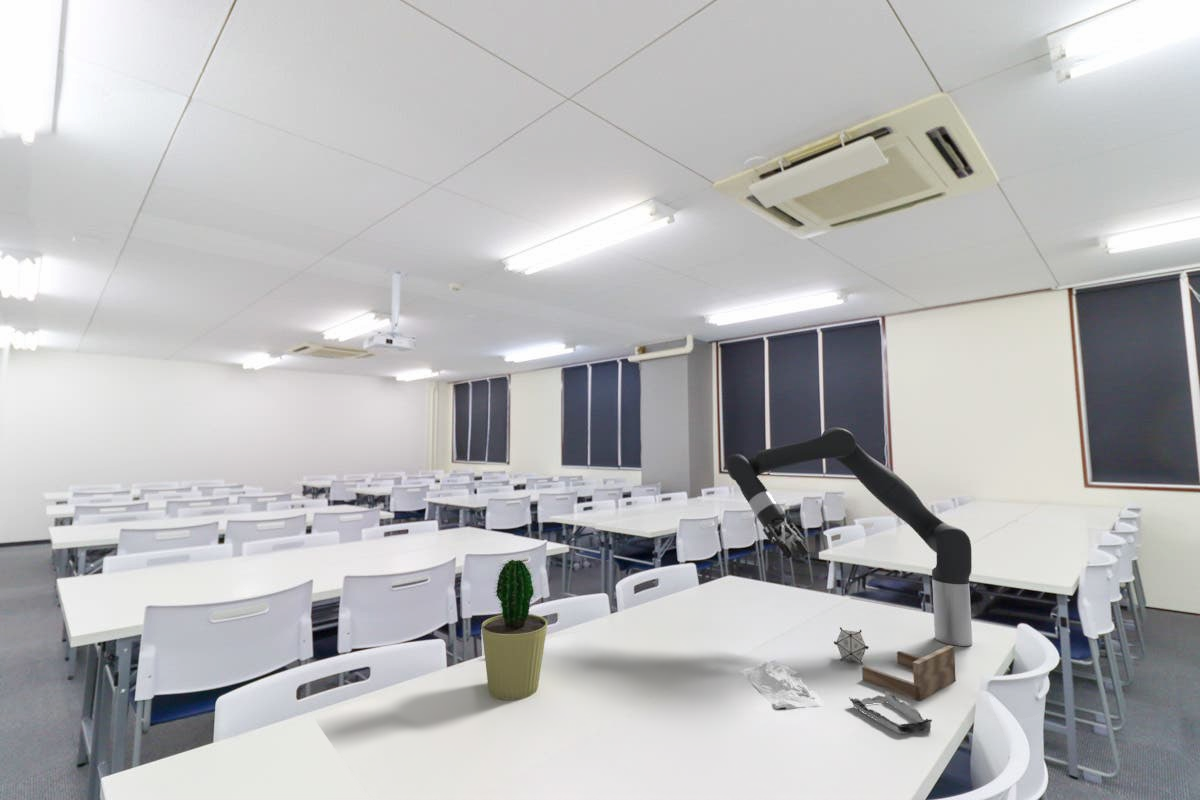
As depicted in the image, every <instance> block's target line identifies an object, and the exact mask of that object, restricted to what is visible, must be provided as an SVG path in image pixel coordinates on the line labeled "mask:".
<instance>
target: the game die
mask: <svg viewBox="0 0 1200 800" xmlns="http://www.w3.org/2000/svg"><path fill="white" fill-rule="evenodd" d="M839 630H840V633H839V635H838V637H837V640H836V641H833V644H834V645H836V646H837V648H838V651H839V655H840V657H841V658H840V662H843V660H850V661H856V662H860V664H861V665H862V666H863V664H864V662H863V661H862V660H863V657H864V654H865V651H866V650H869V648H870V647H869V646H868V645H866V643H865V640H864V639H863V636H862V629H860V630H859V631H855V630H854V631H853V630H847V629H843V628H842V627H841V626H839Z"/></svg>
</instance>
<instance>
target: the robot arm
mask: <svg viewBox="0 0 1200 800" xmlns="http://www.w3.org/2000/svg"><path fill="white" fill-rule="evenodd" d="M823 459H835V460H837V461H838V462H839V463H840V464H841V465H843V466H844V467H845V468H847V469H848V470H849V471H850V472H851V473H852V474H853V475H854V477H855V478H856V479H858V480H859V482H861V484H862V485H863V487H865V488H866V489H867V491H868V492H870V494H872V496H874V497H875V498H876V499H877V500H878V502H880V503H881V504H883V506H885V507H886V508H887V509H888V510H890V511H891V512H892V513H893V514H894V515H895V516H897V517H898V518H899V519H901V520H902V521H904V522H905V523H906V524H907V525H908V526H910V527H911V529H913V530H914V532H915V533H916V534H917V535H918V536H919V537H920V538H921V540H923V542H925V544H926V545H927V546H928V547H929V548H930V549H931V550H932V551H933V552H934V553H935V554H936V564H935V567H934V568H932V571H931V578H932V579H931V580H932V581H931V582H932V601H933V603H932V604H933V623H934V638H935V640H937V641H938V642H941V643H943V644H948V645H950V646H961V647H966V646H967V647H968V646H972V645H973V633H972V632H973V630H972V629H973V628H972V613H971V593H970V591H971V590H970V576H971V574H972V570H973V569H972V566H973V565H972V558H973V557H972V543H971V540H970V537H969V535H968V534H967V533H966V532H965V530H962V529H961V528H959V527H955V526H953V525H949V524H947V523H946V522H944V521H943V520H941V519H940V518H938V517H937V516H936V515H935V514H934V513H932V512H931V511H930V510H929V509H928V508H927V507H926V506H925V505H924V504H923V502H922V501H921V499H920V498H919V496H918V495H917V494H916V492H915V491H914V490H913V489H912V487H911V486H910V485H909V484H908V483H906V481H904V480H903V479H902V478H901V477H900V476H898V475H897V474H896V473H895V472H894V471H892V470H891V469H889V468H888V467H887V466H886V465H884V464H883V463H881V462H879V461H878V460H876V459H875V458H873V457H872V456H870V454H868V453H866V451H865V450H863V448H861V447H860V445H858V444H857V441H856V438H855V436H854V435H853V433H852V432H851V431H849V430H847V429H846V428H843V427H842V428H841V427H838V426H837V427H830V428H827V429H826V430H824V432H822V434H821V435H820V436H818V437H815V438H813V439H809V440H806V441H802V442H796V443H790V444H789V443H788V444H783V445H779V446H774V447H770V448H766V449H763V450H759V451H757V452H756V453H755V454H754V456H752V457H750V458H748V459H747V458H746V457H745V456H744V455H742V454H739V453H734V454H731V455H729V456H728V457H727V459H726V462H725V467H726V470H727V473H728V475H729V477H730V478H731V479H732V480H733V481H735V482H736V484H737V485H738V486H739V487H738V488H740V491H741V493H742V495H743V497H744V498H745V500H746V501H747V503H748V504H749V506H750V508H751V510H752V511H753V513H754V515H755V516H756V519H758V521H759V522H760V524H761V525H762V527H763V528H762V531H763V533H764V535H765V536H766V538H767V539H768V540H769V543H770V544H771V546H773V547H776V548H778V549H780V551H781V552H782V553H783V555H784V557H785V558H786V559H787V560H789V559H791V558H792V557H794V553H793V551H792V550H791V548H790V547H789V546H788V544H787V543H786V541H787V542H788V543H789V542H790V543H791V544H793V545H795V547H796V549H797V550H798V552H799V553H800V554H801V556H802V557H807V556H808V555H809V554H810V552H809V550H808V549H807V547H806V546H805V544H804V543H803V541H804V540H805V539H806V538H805V536H804V535H803V534H802V532H800V530H799V529H798V527H797V526H796V525H795V523H793V522H791V523H790V524H788V523H787V521H785V520H786V518H787V517H786V513H785V512H784V510H783V509H782V507H781V506H780V505H779V503H778V501H776V499H775V498H774V497H773V496H772V495H771V493H770V492H769V491H768V489H767V488H766V487H765V485H764V484H763V482H762V481H761V479H759V477H758V476H761V475H762V474H764V473H768V472H772V471H777V470H781V469H784V468H788V467H791V466H795V465H798V464H802V463H807V462H811V461H817V460H823Z"/></svg>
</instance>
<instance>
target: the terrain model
mask: <svg viewBox="0 0 1200 800" xmlns="http://www.w3.org/2000/svg"><path fill="white" fill-rule="evenodd" d="M782 666H784V667H782ZM787 667H789V665H780V664H779V663H778V662H777V661H776V660H774V659H773V660H771V661H765V663H763V664H762V665H759V666H755V667H754V666H753V667H748V669H747V668H743V669H744V670H742V669H741V670H740V673H741V674H742V675H744V674H743V673H745V675H746V677H747V678H748V679H749V680H748V679H747V678H746V677H745V678H746V679H747V680H748V681H749V682H750V681H751V682H750V684H751V683H752V684H753V685H752V684H751V685H752V686H753V687H755V689H756V690H759V691H758V692H759V693H760V694H761V696H763V697H764V698H765V699H766V700H767V701H768V702H769V703H770V704H771V706H773V708H775V709H776V710H779V709H781V708H782V709H783V708H785V710H791V709H806V707H808V708H819V707H818V706H821V705H822V704H823V702H822V701H821V700H820V699H819V697H818V696H816V693H817V692H816V691H814V690H813V691H812V689H811V690H807V687H808V686H807V687H806V688H805V687H804V685H802V684H801V682H800V680H801V679H802V678H801V677H796V676H794V675H798V673H797V671H795V670H793V669H791V668H790V669H791V670H790V669H788V668H787ZM792 674H794V675H792ZM745 675H744V676H745ZM791 675H792V676H791ZM815 692H816V693H815ZM824 704H825V703H824ZM824 704H823V705H824ZM823 707H826V704H825V705H824V706H823Z"/></svg>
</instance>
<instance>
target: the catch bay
mask: <svg viewBox="0 0 1200 800" xmlns="http://www.w3.org/2000/svg"><path fill="white" fill-rule="evenodd" d="M896 658H897V659H896V660H897V661H896V662H897V663H896V664H897V665H900V666H903V667H906V668H908V669H912V670H913V672H912V673H913V674H912V675H913V682H912V681H911V680H907V679H905V678H904V679H903V678H901V677H898V676H895V675H893V674H889V673H886V672H883V671H880V670H877V669H874V668H871V667H868V666H866V665H864V666H862V667H861V672H862V673H861V674H862V675H861V676H862V677H861V678H862V681H864V680H865V681H864V682H867V683H869V682H870V684H872V683H873V685H875V684H876V685H875V686H878V687H880V686H881V687H880V688H883V689H886V688H887V689H886V690H889V691H891V690H892V692H895V693H898V694H899V695H902V696H905V697H908V698H911V699H914V700H917V701H919V702H921V701H922V700H925V699H926V698H928V697H929V696H932V695H934V694H935V693H937V692H939V691H940V690H942V689H944V688H945V687H947V686H948V685H951V684H952V683H954V682H956V681H957V680H956V660H955V659H956V658H955V645H951V644H948V645H946V646H944V647H941V648H940V649H938V650H937V649H936V651H934V652H931V653H929V654H927V655H925V656H923V657H920V656H918V655H915V654H911V653H907V652H904V651H902V650H901V651H900V650H898V651H897V652H896Z"/></svg>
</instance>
